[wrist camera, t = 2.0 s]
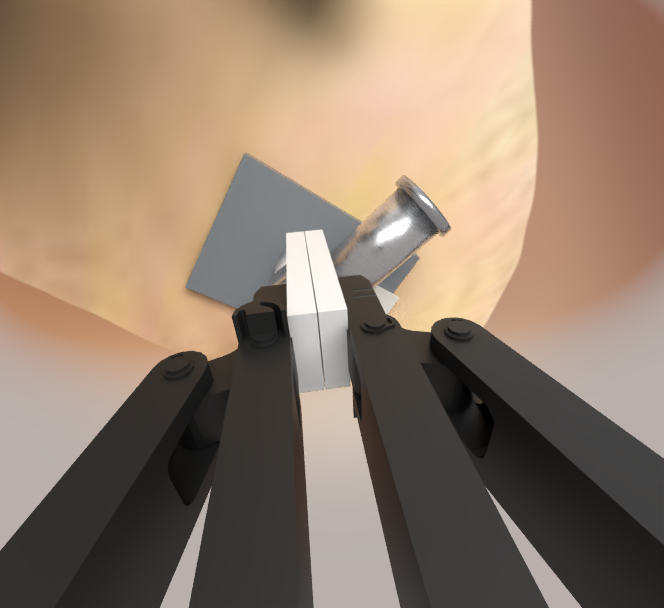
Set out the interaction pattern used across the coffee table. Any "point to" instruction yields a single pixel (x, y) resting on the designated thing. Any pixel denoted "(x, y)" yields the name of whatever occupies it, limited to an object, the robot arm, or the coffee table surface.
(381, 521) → the robot arm
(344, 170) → the coffee table surface
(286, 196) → the base
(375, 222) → the elbow
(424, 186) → the coffee table surface
